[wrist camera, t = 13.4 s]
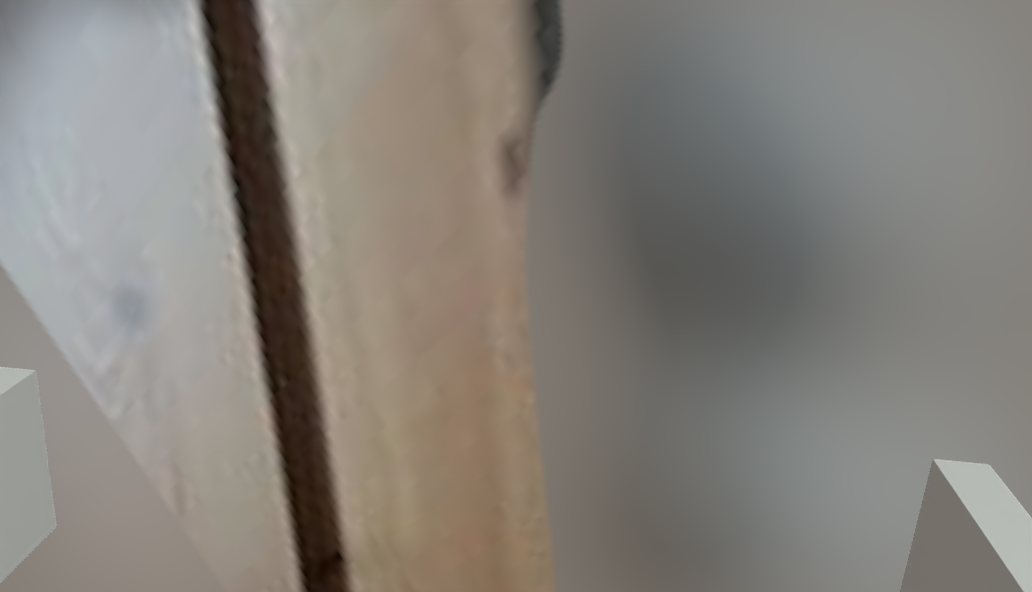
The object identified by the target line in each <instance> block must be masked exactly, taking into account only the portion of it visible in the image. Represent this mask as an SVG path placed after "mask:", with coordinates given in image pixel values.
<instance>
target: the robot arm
mask: <svg viewBox="0 0 1032 592" xmlns="http://www.w3.org/2000/svg"><path fill="white" fill-rule="evenodd" d="M56 527H57V526H56V518H55V510H54V503H53V495H52V487H51V480H50V472H49V464H48V457H47V449H46V441H45V434H44V426H43V418H42V411H41V403H40V396H39V388H38V381H37V373H36V370H27V369H17V368H7V367H0V583H1V582H2V581H3V580H4V579H5V578H6V577H7V576H8V575H9V574H10V573H11V572H12V571H13V570H14V569H15V568H16V567H17V566H18V565H19V564H20V563H21V562H22V561H23V560H24V559H25V558H26V557H27V556H28V555H29V554H30V553H31V552H32V551H33V550H34V549H35V548H36V547H37V546H38V545H39V544H40V543H41V542H42V541H43V540H44V539H45V538H46V537H47V536H48V535H49V534H50V533H51V532H52V531H53V530H54V529H55V528H56ZM900 592H1032V518H1031V517H1030V515H1029V514H1028V513H1027V512H1026V510H1025V509H1024V508H1023V507H1022V506H1021V504H1020V503H1019V501H1018V500H1017V499H1016V498H1015V496H1014V495H1013V494H1012V493H1011V491H1010V490H1009V489H1008V488H1007V486H1006V485H1005V484H1004V483H1003V481H1002V480H1001V479H1000V477H999V476H998V475H997V474H996V473H995V471H994V470H993V469H992V467H991V466H990V465H989V464H979V463H969V462H958V461H949V460H939V459H933V461H932V465H931V469H930V473H929V477H928V481H927V485H926V489H925V493H924V497H923V501H922V506H921V509H920V514H919V517H918V522H917V525H916V530H915V533H914V538H913V542H912V546H911V550H910V554H909V558H908V562H907V566H906V570H905V574H904V578H903V582H902V586H901V590H900Z"/></svg>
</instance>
